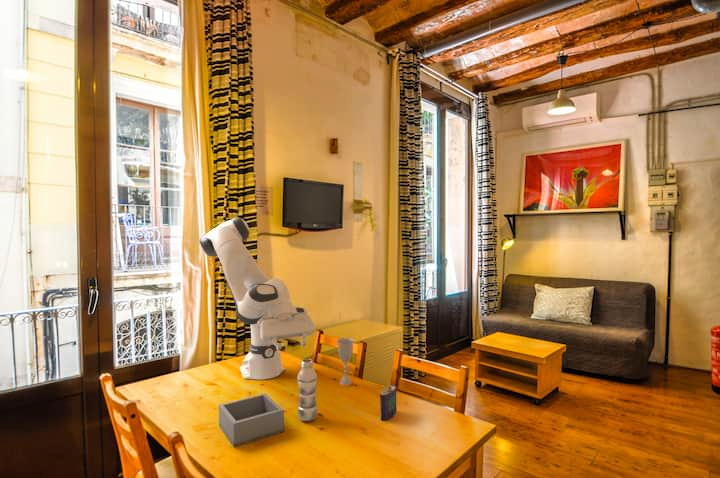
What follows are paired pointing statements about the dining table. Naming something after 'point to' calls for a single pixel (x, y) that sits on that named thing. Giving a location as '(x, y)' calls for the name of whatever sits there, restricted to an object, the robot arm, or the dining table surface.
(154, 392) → the dining table surface
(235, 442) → the bin
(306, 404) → the plastic bottle
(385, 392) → the hip flask
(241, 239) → the robot arm
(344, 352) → the chalice
